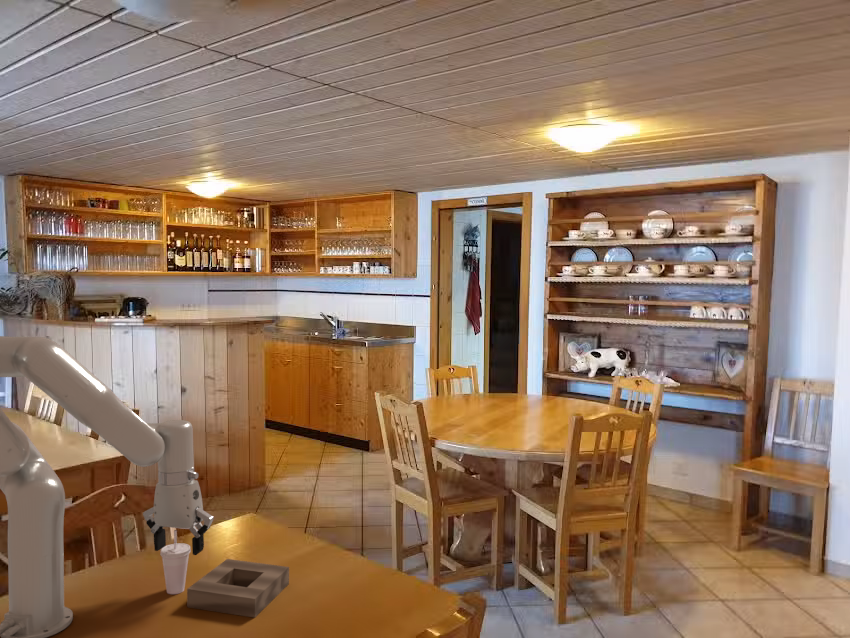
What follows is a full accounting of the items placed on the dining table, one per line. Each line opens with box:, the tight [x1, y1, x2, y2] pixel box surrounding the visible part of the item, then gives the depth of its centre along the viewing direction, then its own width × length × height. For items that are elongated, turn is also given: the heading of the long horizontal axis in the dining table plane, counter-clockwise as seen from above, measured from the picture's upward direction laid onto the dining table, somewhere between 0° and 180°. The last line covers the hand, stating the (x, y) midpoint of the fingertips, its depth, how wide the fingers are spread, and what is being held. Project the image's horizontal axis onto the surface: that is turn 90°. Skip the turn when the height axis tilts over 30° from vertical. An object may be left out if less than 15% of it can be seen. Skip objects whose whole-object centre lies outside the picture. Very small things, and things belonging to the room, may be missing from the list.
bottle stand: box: [186, 558, 290, 618], centre depth 145 cm, size 16×16×4 cm
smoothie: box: [160, 529, 192, 595], centre depth 147 cm, size 6×6×14 cm
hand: (179, 550), depth 147 cm, fingers open, 9 cm apart
